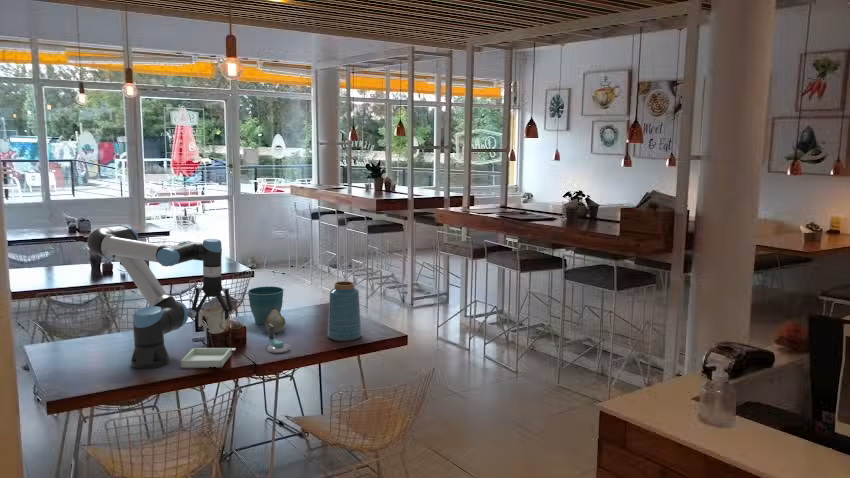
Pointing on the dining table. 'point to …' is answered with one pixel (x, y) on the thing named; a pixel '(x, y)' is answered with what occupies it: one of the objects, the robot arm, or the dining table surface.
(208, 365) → the tray
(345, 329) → the vase
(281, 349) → the pedestal
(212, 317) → the mug
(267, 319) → the fruit
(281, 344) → the crank
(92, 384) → the dining table surface
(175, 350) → the dining table surface
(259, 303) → the flower pot
